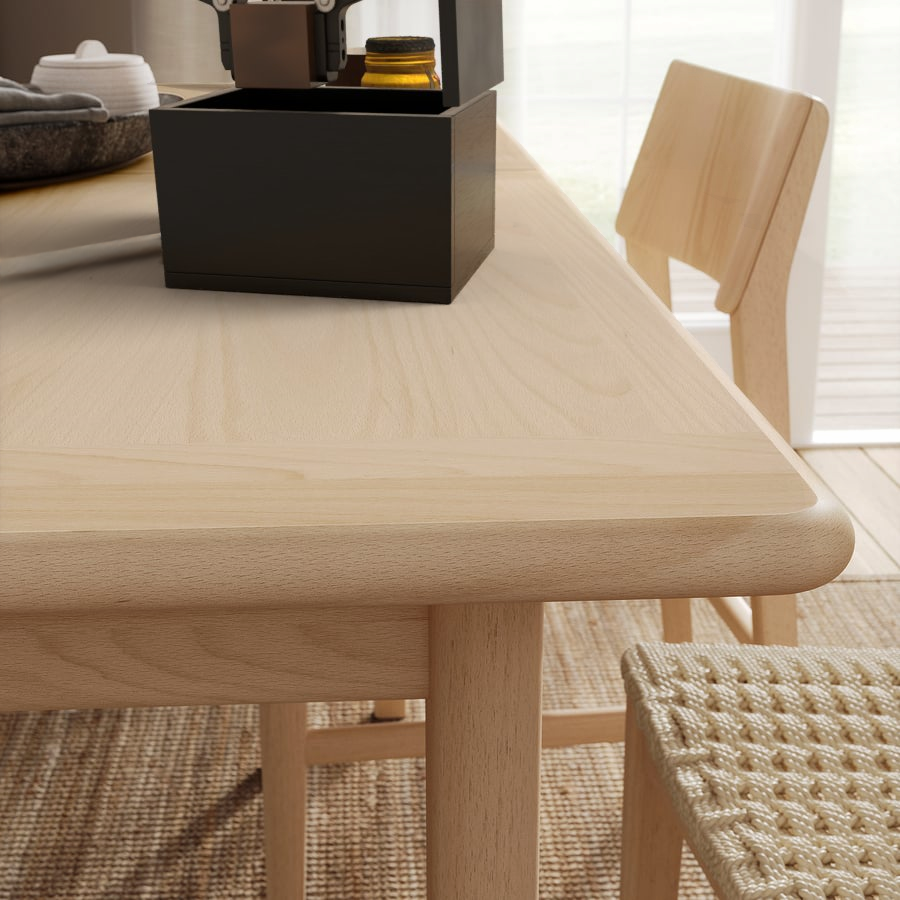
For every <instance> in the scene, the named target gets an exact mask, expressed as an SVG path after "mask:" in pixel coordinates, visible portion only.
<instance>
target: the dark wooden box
mask: <svg viewBox="0 0 900 900" xmlns="http://www.w3.org/2000/svg"><path fill="white" fill-rule="evenodd" d="M497 97H498V90H497V89H489V90H487V91H486V92H484V93H482V94H480V95H479V96H477V97H475V98H473V99H472V100H470V101H468V102H467V103H465V104H463V105H461V106H460V107H443V97H442V88H441V89H424V88H378V87H332V86H325V85H323V86H319V87H316V88H313V89H310V90H307V89H251V88H235V86H232V87H227V88H224V89H220V90H216V91H212V92H209V93H205V94H202V95H198V96H194V97H190V98H186V99H182V100H178V101H175V102H171V103H167V104H164V105H160V106H157V107H153V108H150V109H148V119H149V129H150V131H149V132H150V142H151V150H152V160H153V161H152V162H153V171H154V182H155V193H156V203H157V211H158V224H159V232H160V244H161V255H162V263H163V264H162V265H163V271H164V273H163V275H164V286H165V288H171V289H189V290H204V291H205V290H206V291H207V290H208V291H221V292H222V291H224V292H240V293H241V292H242V293H258V294H274V295H275V294H276V295H294V296H311V297H329V298H347V299H361V300H362V299H363V300H377V301H378V300H380V301H397V302H413V303H414V302H415V303H431V304H449V305H450V304H452V303H453V302H454V301H455V299H456V298H457V296H458V295H459V294H460V293H461V291H462V290H463V289H464V287H466V285H467V284H468V283H469V282H470V280H471V278H472V277H473V276H474V274H475V273H476V272H477V271H478V269H479V268H481V265H482V264H483V263H484V261H486V260H487V258H488V257H489V255H490V254H491V252H492V251H493V250H494V249H495V242H496V241H495V240H496V239H495V238H496V236H495V233H496V175H497V174H496V173H497V171H496V170H497V160H496V159H497V106H498V105H497V104H498V102H497V101H498V100H497V99H498V98H497Z"/></svg>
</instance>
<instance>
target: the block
mask: <svg viewBox="0 0 900 900" xmlns="http://www.w3.org/2000/svg"><path fill="white" fill-rule="evenodd" d="M229 8H230V22H231V36H232V49H233V63H234V77H235V81H234V87H235V88H251V89H307V90H310V89H313V88H316V87H319V86H322V85H323V86H325V84H328V83H331V82H318V81H317V79H316V67H315V46H314V24H313V14H316V13H318V8H317V7H316V5H315V3H314V1H262V0H258V1H257V0H255V1H248V2H245V3H235V4H229ZM332 82H333V81H332Z"/></svg>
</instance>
